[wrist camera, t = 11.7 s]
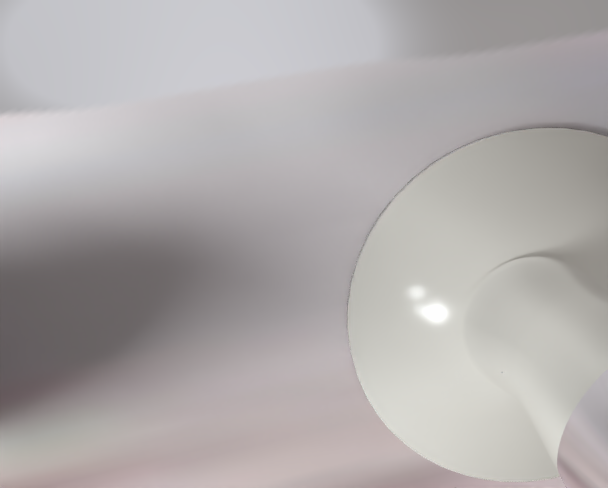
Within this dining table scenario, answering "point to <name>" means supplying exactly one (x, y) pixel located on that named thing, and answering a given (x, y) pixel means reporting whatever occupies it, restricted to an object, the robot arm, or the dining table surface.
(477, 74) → the dining table surface
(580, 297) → the steel cup
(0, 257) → the dining table surface
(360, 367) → the white flat disc
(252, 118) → the dining table surface
